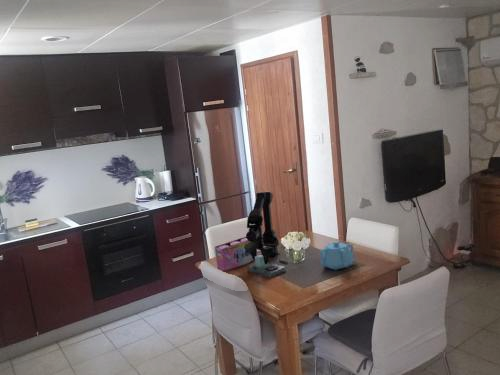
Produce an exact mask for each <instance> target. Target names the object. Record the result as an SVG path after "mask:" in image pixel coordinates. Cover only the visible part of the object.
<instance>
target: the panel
mask: <svg viewBox="0 0 500 375" xmlns="http://www.w3.org/2000/svg"><path fill="white" fill-rule="evenodd" d="M273 263H274V262H269V261H268V262H267V264H266V265H265V266H263V267H257V266H256V264H255V263H254V264H252V265H250V266H247V272H248V273H252V274H255V275H258V276H259V277H260V276H261V277H264V278H267V279H271V278H274V277H276V276H278V275H280V274H283V273H285V272H286V271H287V270H286V266H283V265H281V264H280V265H277V264H278V263H277V264H273Z"/></svg>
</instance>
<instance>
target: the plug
mask: <svg viewBox="0 0 500 375" xmlns="http://www.w3.org/2000/svg"><path fill="white" fill-rule="evenodd" d="M254 264H256V266H257V267H263V266H265V263H264V258H263V256H262V255H261V254H257V256H255V262H254Z"/></svg>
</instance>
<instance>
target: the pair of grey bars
mask: <svg viewBox="0 0 500 375" xmlns="http://www.w3.org/2000/svg"><path fill="white" fill-rule="evenodd" d="M278 262H279V263H276V262H272V263H273V264H277V265H280V266H281V264H280V263H282V264H286V265H287V264H289V262H288V260H284V259H278Z"/></svg>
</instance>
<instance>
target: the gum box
mask: <svg viewBox="0 0 500 375" xmlns="http://www.w3.org/2000/svg"><path fill="white" fill-rule="evenodd" d="M250 242H251V241H248V240H247V238H246V236H244V237H240V238H238V239H234V240H231V241H228V242H226V243H223V244H219V245H215V246H214V252H215V259H216V265H217V266H216V268H217V269H218V268H219V269H218V270H220V269H221V270H220V271H222V270H223V271H222V272H227V271H229V269H230V270H232V268H233V269H235V268H238V267H240V266H243V265H244V266H245V265H246V264H249V263H251V261H252V262H254V260H253V258H252V256H251V254H250V253H249V252H246V250H245V248H244V246H245V244H247V243H250ZM224 270H225V271H224ZM226 270H227V271H226Z"/></svg>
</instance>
